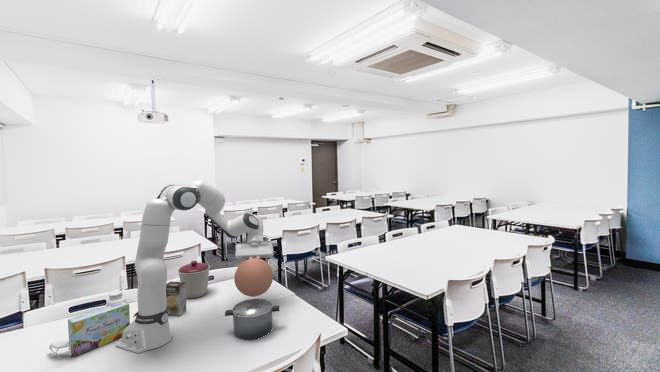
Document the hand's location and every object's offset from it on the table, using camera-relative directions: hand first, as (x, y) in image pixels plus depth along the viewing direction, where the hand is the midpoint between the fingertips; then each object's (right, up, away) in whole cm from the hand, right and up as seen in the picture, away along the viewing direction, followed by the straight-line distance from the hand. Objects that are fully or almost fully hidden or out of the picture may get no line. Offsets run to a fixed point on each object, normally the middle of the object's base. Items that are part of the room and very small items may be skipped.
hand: (254, 264), depth 162 cm
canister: (-42, -25, +25) cm, 55 cm away
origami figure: (-72, -29, -34) cm, 84 cm away
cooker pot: (+3, -27, -16) cm, 31 cm away
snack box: (-61, -28, -26) cm, 72 cm away
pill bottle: (-67, -27, -7) cm, 73 cm away
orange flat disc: (+1, -5, -7) cm, 8 cm away
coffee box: (-42, -26, +1) cm, 50 cm away
